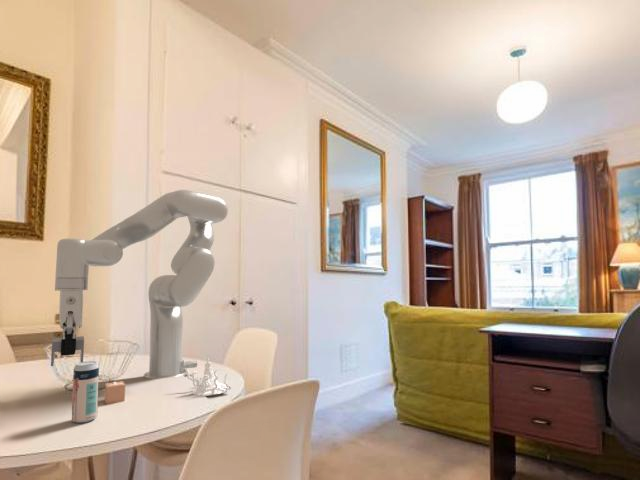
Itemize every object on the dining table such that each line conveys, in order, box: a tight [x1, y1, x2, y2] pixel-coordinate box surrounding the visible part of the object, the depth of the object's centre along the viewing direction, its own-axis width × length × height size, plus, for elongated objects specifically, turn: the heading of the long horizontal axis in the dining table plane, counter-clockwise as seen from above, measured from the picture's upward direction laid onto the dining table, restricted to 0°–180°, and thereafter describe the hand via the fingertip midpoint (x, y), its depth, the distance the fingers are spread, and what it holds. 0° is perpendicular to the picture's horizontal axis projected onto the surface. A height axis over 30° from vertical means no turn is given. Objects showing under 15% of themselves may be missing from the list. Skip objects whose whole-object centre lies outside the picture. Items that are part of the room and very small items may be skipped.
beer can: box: [71, 360, 100, 424], centre depth 88 cm, size 5×5×12 cm
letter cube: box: [104, 380, 126, 405], centre depth 101 cm, size 4×4×4 cm
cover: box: [50, 335, 85, 367], centre depth 107 cm, size 7×7×6 cm
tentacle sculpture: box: [184, 355, 232, 397], centre depth 109 cm, size 9×12×9 cm
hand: (68, 351), depth 107 cm, fingers closed on cover, 7 cm apart
